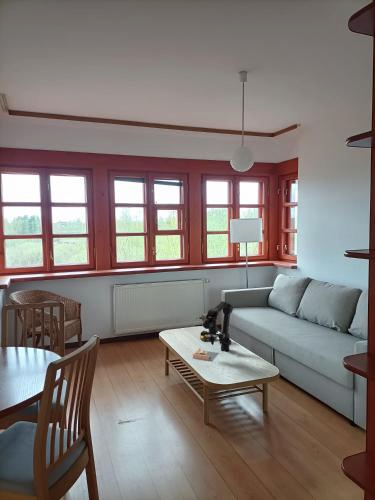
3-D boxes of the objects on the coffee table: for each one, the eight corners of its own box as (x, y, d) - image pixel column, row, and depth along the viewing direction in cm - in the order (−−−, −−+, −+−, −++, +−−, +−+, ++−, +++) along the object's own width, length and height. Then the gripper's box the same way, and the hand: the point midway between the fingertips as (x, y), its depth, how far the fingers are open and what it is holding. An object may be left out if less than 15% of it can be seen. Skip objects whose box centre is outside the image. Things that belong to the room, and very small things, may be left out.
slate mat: (219, 353, 306) (219, 352, 306) (212, 362, 288) (212, 361, 288) (199, 350, 312) (199, 350, 312) (191, 358, 294) (191, 358, 294)
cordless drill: (193, 339, 340) (193, 313, 338) (213, 337, 347) (213, 311, 345) (196, 342, 332) (197, 315, 330) (217, 340, 339) (217, 313, 337)
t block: (208, 355, 299) (208, 350, 299) (205, 359, 292) (205, 354, 292) (198, 354, 303) (198, 349, 302) (194, 357, 295) (194, 352, 295)
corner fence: (214, 354, 303) (214, 350, 303) (208, 360, 290) (208, 356, 289) (198, 351, 308) (198, 348, 308) (192, 358, 295) (192, 354, 294)
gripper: (226, 324, 295) (226, 343, 297) (204, 321, 302) (204, 340, 304) (223, 328, 285) (222, 347, 286) (200, 325, 292) (200, 344, 293)
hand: (212, 345), depth 293 cm, fingers closed
